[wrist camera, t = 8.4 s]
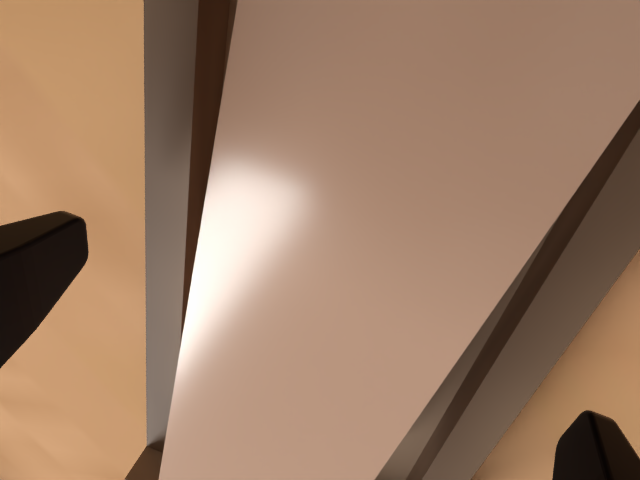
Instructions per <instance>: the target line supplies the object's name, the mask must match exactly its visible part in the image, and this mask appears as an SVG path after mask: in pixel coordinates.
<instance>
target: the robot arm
mask: <svg viewBox="0 0 640 480" xmlns="http://www.w3.org/2000/svg"><path fill="white" fill-rule="evenodd" d="M87 258H88V241H87V230H86V223H85V221H84V219H83V218H81V217H79V216H76V215H74V214H71V213H68V212H65V211H58V212H53V213H50V214H46V215H42V216H38V217H34V218H30V219H26V220H22V221H18V222H14V223H10V224H6V225H2V226H0V368H1V367H2V366H3V365H4V364H5V363H6V362H7V360H8V359H9V358H10V357H11V356H12V355H13V354H14V353H15V352H16V351H17V350H18V349H19V347H20V346H21V345H22V344H23V343H24V342H25V341H26V340H27V339H28V338H29V337H30V335H31V334H32V333H33V332H34V331H35V330H36V329H37V327H38V326H39V325H40V324H41V322H42V321H43V320H44V319H45V317H46V316H47V315H48V313H49V312H50V311H51V309H52V308H53V307H54V305H55V304H56V302H57V301H58V300H59V298H60V297H61V296H62V294H63V293H64V292H65V290H66V289H67V288H68V286H69V285H70V284H71V282H72V281H73V280H74V278H75V277H76V276H77V274H78V273H79V272H80V270H81V269H82V268H83V266H84V265H85V263H86V261H87ZM552 480H640V458H639V457H638V455H637V454H636V452H635V451H634V449H633V448H632V446H631V445H630V443H629V442H628V440H627V439H626V437H625V435H624V434H623V432H622V431H621V429H620V428H619V426H618V425H617V424H616V422H615V421H614V420H612V419H611V418H609V417H606V416H604V415H601V414H598V413H596V412H593V411H589V410H586V411H584V412H582V413H581V414H580V415H579V416H578V417H577V419H576V420H575V421H574V422H573V423H572V424H571V426H570V427H569V428H568V429H567V430H566V431H565V433H564V434H563V435H562V436H561V438H560V439H559V441H558V444H557V447H556V453H555V462H554V470H553V479H552Z"/></svg>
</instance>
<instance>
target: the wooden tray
mask: <svg viewBox="0 0 640 480" xmlns="http://www.w3.org/2000/svg"><path fill="white" fill-rule="evenodd" d="M237 2H238V0H144V96H145V247H146V398H147V446H146V448H145V449H144V451H143V452H142V454H141V455H140V457H139V458H138V460H137V461H136V463H135V464H134V466H133V467H132V469H131V470H130V472H129V473H128V475H127V476H126V478H125V480H159V474H160V468H161V462H162V456H163V450H164V444H165V438H166V432H167V426H168V420H169V414H170V408H171V402H172V396H173V389H174V383H175V377H176V371H177V365H178V359H179V353H180V347H181V341H182V335H183V329H184V323H185V317H186V311H187V305H188V299H189V293H190V287H191V280H192V274H193V268H194V262H195V256H196V250H197V244H198V238H199V232H200V226H201V220H202V214H203V208H204V202H205V196H206V190H207V184H208V178H209V172H210V165H211V159H212V153H213V147H214V141H215V135H216V129H217V123H218V117H219V111H220V105H221V99H222V93H223V87H224V81H225V75H226V69H227V63H228V57H229V50H230V44H231V38H232V32H233V26H234V20H235V14H236V8H237ZM639 249H640V100H639V101H638V103H637V104H636V106H635V107H634V109H633V110H632V111H631V113H630V114H629V116H628V117H627V119H626V120H625V121H624V123H623V124H622V126H621V127H620V129H619V130H618V131H617V133H616V134H615V136H614V137H613V139H612V140H611V142H610V143H609V144H608V146H607V147H606V149H605V150H604V152H603V153H602V154H601V156H600V157H599V159H598V160H597V162H596V163H595V164H594V166H593V167H592V169H591V170H590V172H589V173H588V174H587V176H586V177H585V179H584V180H583V182H582V183H581V184H580V186H579V187H578V189H577V190H576V192H575V193H574V195H573V196H572V197H571V199H570V200H569V202H568V203H567V205H566V206H565V207H564V209H563V210H562V212H561V213H560V215H559V216H558V217H557V219H556V220H555V222H554V223H553V225H552V226H551V227H550V229H549V230H548V232H547V233H546V235H545V236H544V238H543V239H542V240H541V242H540V243H539V245H538V246H537V248H536V249H535V250H534V252H533V253H532V255H531V256H530V258H529V259H528V260H527V262H526V263H525V265H524V266H523V268H522V269H521V270H520V272H519V273H518V275H517V276H516V278H515V279H514V281H513V282H512V283H511V285H510V286H509V288H508V289H507V291H506V292H505V293H504V295H503V296H502V298H501V299H500V301H499V302H498V303H497V305H496V306H495V308H494V309H493V311H492V312H491V313H490V315H489V316H488V318H487V319H486V321H485V322H484V323H483V325H482V326H481V328H480V329H479V331H478V332H477V334H476V335H475V336H474V338H473V339H472V341H471V342H470V344H469V345H468V346H467V348H466V349H465V351H464V352H463V354H462V355H461V356H460V358H459V359H458V361H457V362H456V364H455V365H454V366H453V368H452V369H451V371H450V372H449V374H448V375H447V377H446V378H445V379H444V381H443V382H442V384H441V385H440V387H439V388H438V389H437V391H436V392H435V394H434V395H433V397H432V398H431V399H430V401H429V402H428V404H427V405H426V407H425V408H424V409H423V411H422V412H421V414H420V415H419V417H418V418H417V420H416V421H415V422H414V424H413V425H412V427H411V428H410V430H409V431H408V432H407V434H406V435H405V437H404V438H403V440H402V441H401V442H400V444H399V445H398V447H397V448H396V450H395V451H394V452H393V454H392V455H391V457H390V458H389V460H388V461H387V462H386V464H385V465H384V467H383V468H382V470H381V471H380V473H379V474H378V475H377V477H376V478H375V480H471V479H472V477H473V476H474V474H475V473H476V472H477V470H478V469H479V468H480V466H481V465H482V463H483V462H484V461H485V459H486V458H487V457H488V455H489V454H490V453H491V451H492V450H493V448H494V447H495V446H496V444H497V443H498V442H499V440H500V439H501V437H502V436H503V435H504V433H505V432H506V431H507V429H508V428H509V427H510V425H511V424H512V422H513V421H514V420H515V418H516V417H517V416H518V414H519V413H520V411H521V410H522V409H523V407H524V406H525V405H526V403H527V402H528V401H529V399H530V398H531V396H532V395H533V394H534V392H535V391H536V390H537V388H538V387H539V386H540V384H541V383H542V381H543V380H544V379H545V377H546V376H547V375H548V373H549V372H550V370H551V369H552V368H553V366H554V365H555V364H556V362H557V361H558V360H559V358H560V357H561V355H562V354H563V353H564V351H565V350H566V349H567V347H568V346H569V344H570V343H571V342H572V340H573V339H574V338H575V336H576V335H577V334H578V332H579V331H580V329H581V328H582V327H583V325H584V324H585V323H586V321H587V320H588V319H589V317H590V316H591V314H592V313H593V312H594V310H595V309H596V308H597V306H598V305H599V303H600V302H601V301H602V299H603V298H604V297H605V295H606V294H607V293H608V291H609V290H610V288H611V287H612V286H613V284H614V283H615V282H616V280H617V279H618V277H619V276H620V275H621V273H622V272H623V271H624V269H625V268H626V267H627V265H628V264H629V262H630V261H631V260H632V258H633V257H634V256H635V254H636V253H637V251H638V250H639Z"/></svg>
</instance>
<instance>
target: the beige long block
mask: <svg viewBox="0 0 640 480" xmlns="http://www.w3.org/2000/svg"><path fill="white" fill-rule="evenodd" d="M639 100H640V0H238V2H237V8H236V14H235V20H234V26H233V32H232V38H231V44H230V50H229V57H228V63H227V69H226V75H225V81H224V87H223V93H222V99H221V105H220V111H219V117H218V123H217V129H216V135H215V141H214V147H213V153H212V159H211V165H210V172H209V178H208V184H207V190H206V196H205V202H204V208H203V214H202V220H201V226H200V232H199V238H198V244H197V250H196V256H195V262H194V268H193V274H192V280H191V287H190V293H189V299H188V305H187V311H186V317H185V323H184V329H183V335H182V341H181V347H180V353H179V359H178V365H177V371H176V377H175V383H174V389H173V396H172V402H171V408H170V414H169V420H168V426H167V432H166V438H165V444H164V450H163V456H162V462H161V468H160V474H159V480H375V478H376V477H377V475H378V474H379V473H380V471H381V470H382V468H383V467H384V465H385V464H386V462H387V461H388V460H389V458H390V457H391V455H392V454H393V452H394V451H395V450H396V448H397V447H398V445H399V444H400V442H401V441H402V440H403V438H404V437H405V435H406V434H407V432H408V431H409V430H410V428H411V427H412V425H413V424H414V422H415V421H416V420H417V418H418V417H419V415H420V414H421V412H422V411H423V409H424V408H425V407H426V405H427V404H428V402H429V401H430V399H431V398H432V397H433V395H434V394H435V392H436V391H437V389H438V388H439V387H440V385H441V384H442V382H443V381H444V379H445V378H446V377H447V375H448V374H449V372H450V371H451V369H452V368H453V366H454V365H455V364H456V362H457V361H458V359H459V358H460V356H461V355H462V354H463V352H464V351H465V349H466V348H467V346H468V345H469V344H470V342H471V341H472V339H473V338H474V336H475V335H476V334H477V332H478V331H479V329H480V328H481V326H482V325H483V323H484V322H485V321H486V319H487V318H488V316H489V315H490V313H491V312H492V311H493V309H494V308H495V306H496V305H497V303H498V302H499V301H500V299H501V298H502V296H503V295H504V293H505V292H506V291H507V289H508V288H509V286H510V285H511V283H512V282H513V281H514V279H515V278H516V276H517V275H518V273H519V272H520V270H521V269H522V268H523V266H524V265H525V263H526V262H527V260H528V259H529V258H530V256H531V255H532V253H533V252H534V250H535V249H536V248H537V246H538V245H539V243H540V242H541V240H542V239H543V238H544V236H545V235H546V233H547V232H548V230H549V229H550V227H551V226H552V225H553V223H554V222H555V220H556V219H557V217H558V216H559V215H560V213H561V212H562V210H563V209H564V207H565V206H566V205H567V203H568V202H569V200H570V199H571V197H572V196H573V195H574V193H575V192H576V190H577V189H578V187H579V186H580V184H581V183H582V182H583V180H584V179H585V177H586V176H587V174H588V173H589V172H590V170H591V169H592V167H593V166H594V164H595V163H596V162H597V160H598V159H599V157H600V156H601V154H602V153H603V152H604V150H605V149H606V147H607V146H608V144H609V143H610V142H611V140H612V139H613V137H614V136H615V134H616V133H617V131H618V130H619V129H620V127H621V126H622V124H623V123H624V121H625V120H626V119H627V117H628V116H629V114H630V113H631V111H632V110H633V109H634V107H635V106H636V104H637V103H638V101H639Z"/></svg>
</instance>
